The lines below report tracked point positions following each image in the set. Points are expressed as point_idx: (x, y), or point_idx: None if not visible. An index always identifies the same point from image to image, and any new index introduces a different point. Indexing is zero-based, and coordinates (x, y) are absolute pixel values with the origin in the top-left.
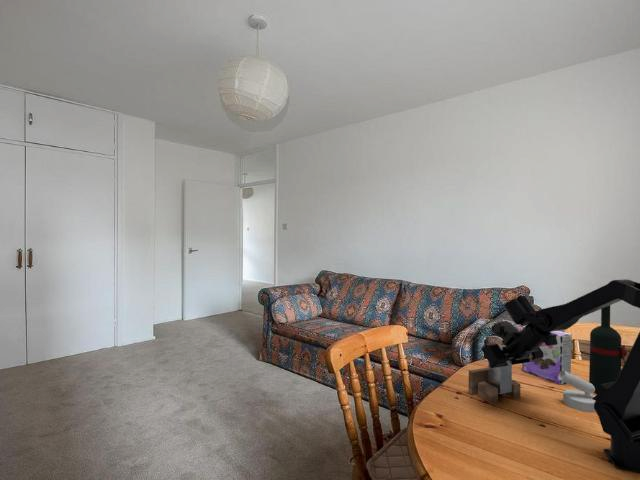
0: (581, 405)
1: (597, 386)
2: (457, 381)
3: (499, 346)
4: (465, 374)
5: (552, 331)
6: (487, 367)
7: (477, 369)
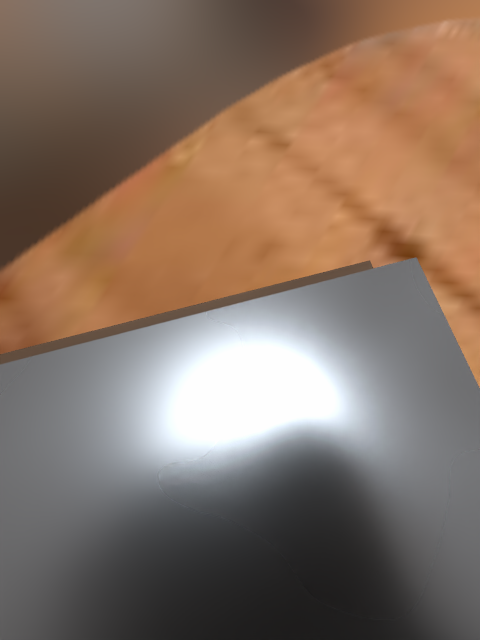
0: None
1: None
2: (104, 234)
3: (295, 507)
4: (200, 161)
5: None
6: (206, 302)
7: (84, 340)
